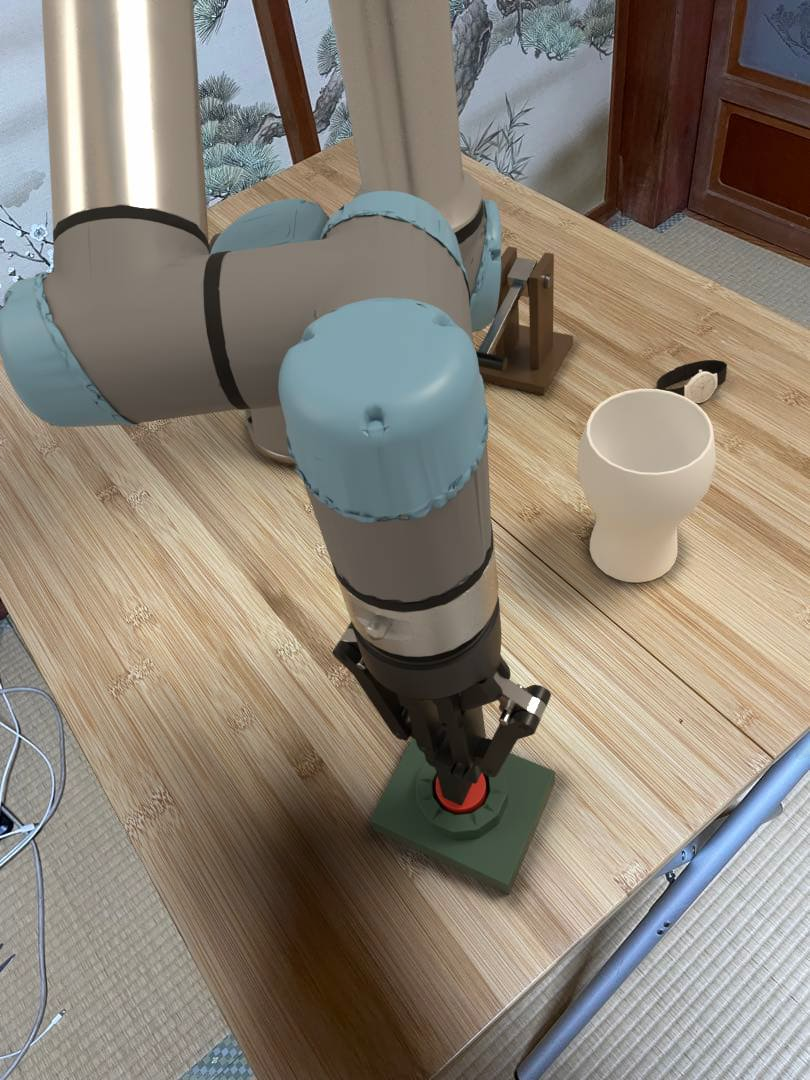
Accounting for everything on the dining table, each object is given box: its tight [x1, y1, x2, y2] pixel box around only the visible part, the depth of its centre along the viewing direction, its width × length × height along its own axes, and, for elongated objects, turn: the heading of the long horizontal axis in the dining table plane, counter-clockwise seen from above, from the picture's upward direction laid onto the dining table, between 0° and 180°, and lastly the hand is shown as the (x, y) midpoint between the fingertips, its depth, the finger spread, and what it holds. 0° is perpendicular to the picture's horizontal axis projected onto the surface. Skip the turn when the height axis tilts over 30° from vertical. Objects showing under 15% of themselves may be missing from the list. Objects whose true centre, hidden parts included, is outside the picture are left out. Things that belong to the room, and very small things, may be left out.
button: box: [436, 773, 487, 815], centre depth 61 cm, size 4×4×2 cm
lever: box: [476, 256, 538, 372], centre depth 83 cm, size 13×5×2 cm, turn 153°
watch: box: [656, 359, 728, 404], centre depth 86 cm, size 8×5×4 cm, turn 112°
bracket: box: [479, 246, 574, 396], centre depth 89 cm, size 9×8×13 cm
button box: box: [369, 737, 556, 895], centre depth 62 cm, size 11×9×4 cm
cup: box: [576, 388, 717, 584], centre depth 70 cm, size 11×11×15 cm
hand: (460, 784), depth 60 cm, fingers closed
